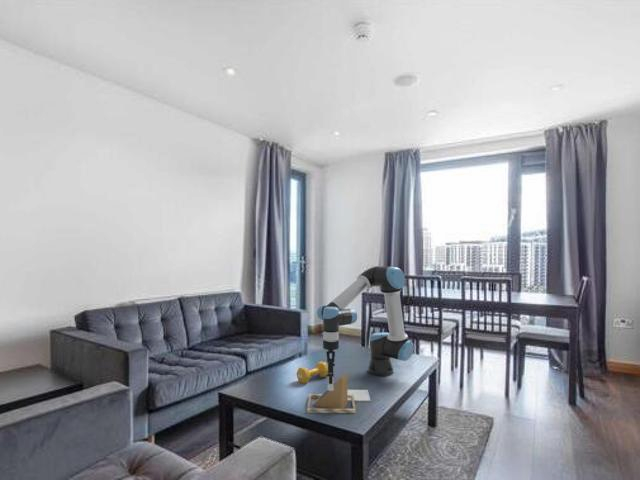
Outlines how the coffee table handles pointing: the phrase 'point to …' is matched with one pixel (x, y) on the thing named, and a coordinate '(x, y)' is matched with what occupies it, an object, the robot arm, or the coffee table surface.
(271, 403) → the coffee table surface
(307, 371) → the dumbbell
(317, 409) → the birch frame
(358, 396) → the grey pad
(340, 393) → the sandwich container
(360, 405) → the coffee table surface
